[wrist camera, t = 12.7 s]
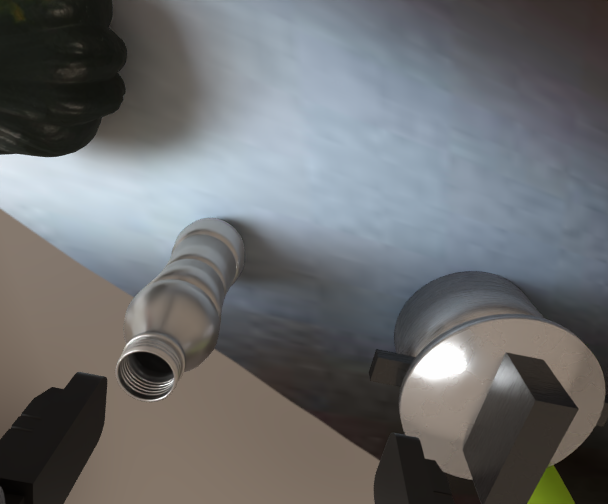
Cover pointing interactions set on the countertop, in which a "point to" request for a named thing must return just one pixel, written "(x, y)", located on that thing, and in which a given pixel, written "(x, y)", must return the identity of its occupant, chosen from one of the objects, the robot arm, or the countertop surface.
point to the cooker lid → (502, 401)
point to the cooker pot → (449, 318)
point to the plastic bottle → (179, 310)
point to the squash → (56, 74)
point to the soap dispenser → (551, 489)
